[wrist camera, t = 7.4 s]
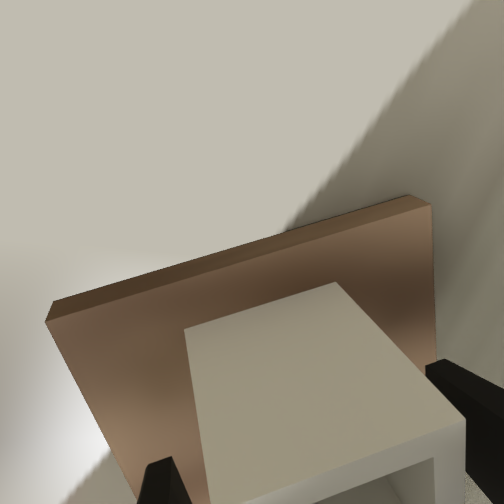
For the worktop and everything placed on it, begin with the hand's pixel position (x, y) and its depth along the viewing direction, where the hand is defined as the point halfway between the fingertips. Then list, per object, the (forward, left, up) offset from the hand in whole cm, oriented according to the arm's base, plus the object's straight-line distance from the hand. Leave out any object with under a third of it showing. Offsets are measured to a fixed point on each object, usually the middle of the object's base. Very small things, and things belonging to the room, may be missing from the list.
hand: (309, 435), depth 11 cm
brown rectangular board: (-5, 0, -4) cm, 7 cm away
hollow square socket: (0, 0, -3) cm, 3 cm away
